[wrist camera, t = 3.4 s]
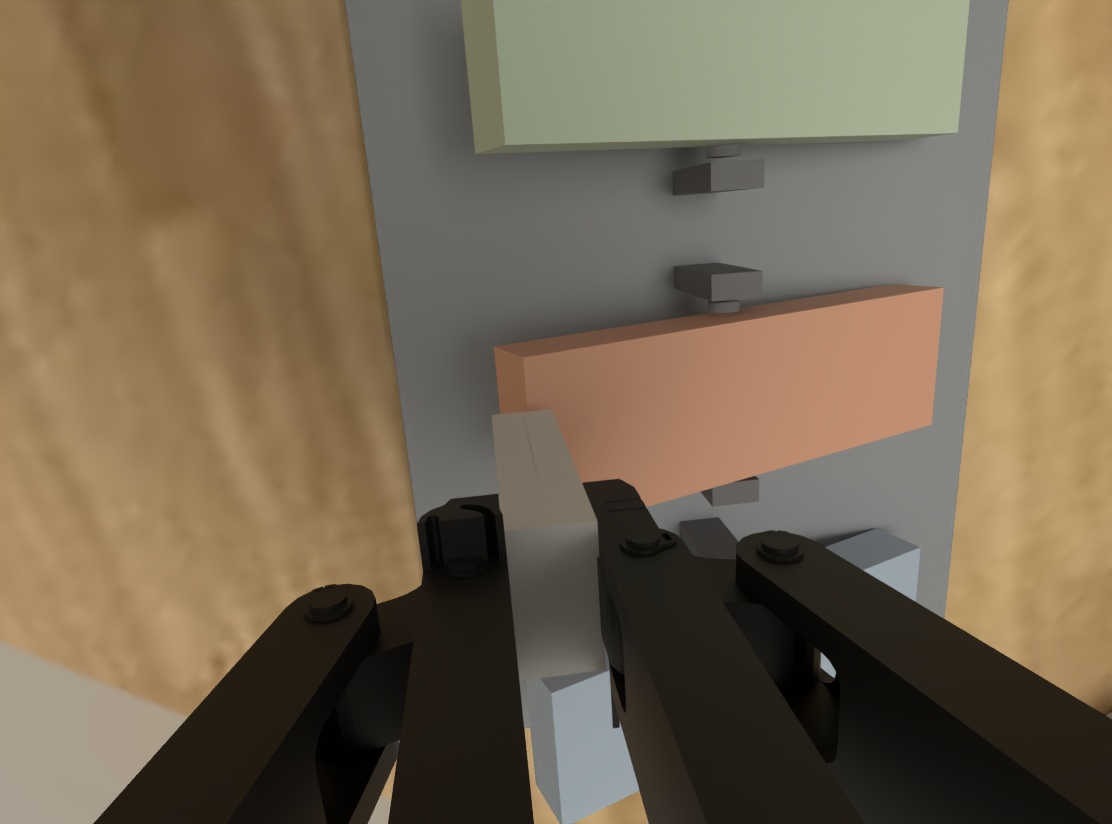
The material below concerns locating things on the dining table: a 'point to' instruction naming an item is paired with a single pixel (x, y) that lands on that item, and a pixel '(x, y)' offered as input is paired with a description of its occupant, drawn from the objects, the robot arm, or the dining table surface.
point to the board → (665, 273)
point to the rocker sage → (710, 72)
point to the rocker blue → (599, 750)
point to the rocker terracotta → (732, 386)
